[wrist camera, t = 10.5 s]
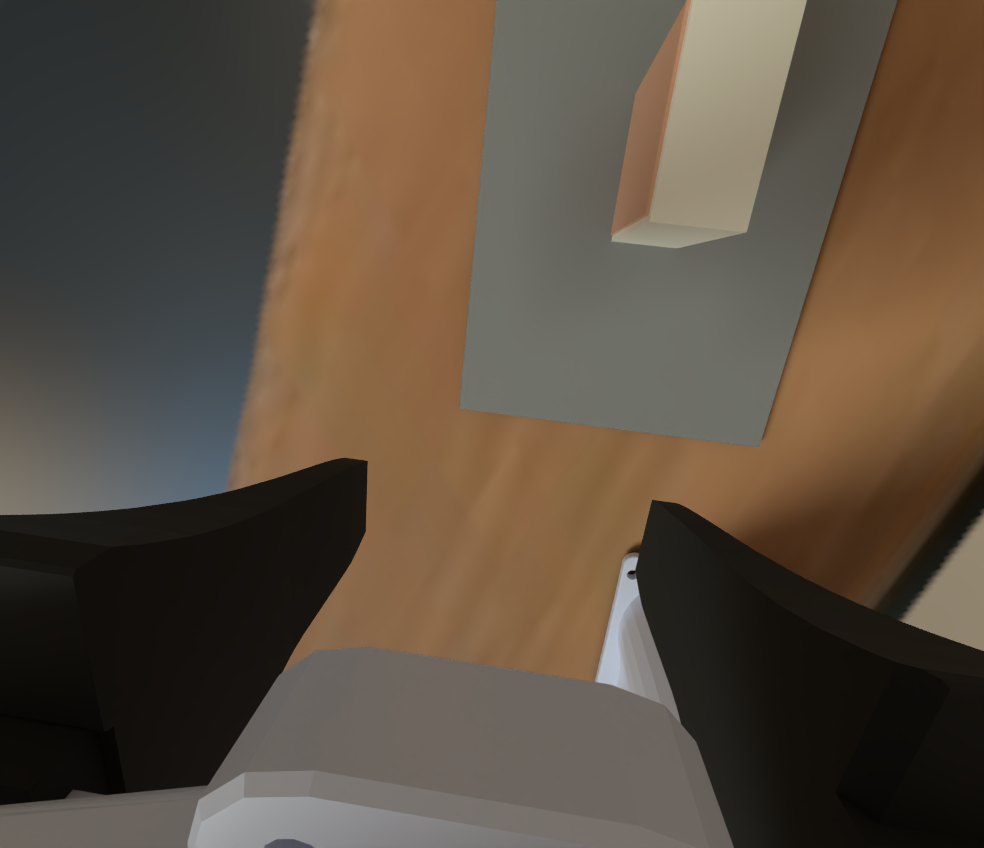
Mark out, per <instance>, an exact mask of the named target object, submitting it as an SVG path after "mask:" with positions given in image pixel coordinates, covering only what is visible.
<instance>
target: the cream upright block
mask: <svg viewBox="0 0 984 848" xmlns="http://www.w3.org/2000/svg"><path fill="white" fill-rule="evenodd" d="M806 2H807V0H686V2H685V4H684V6H683V8H682V10H681V11H680V13H679V15H678V17H677V19H676V20H675V22H674V24H673V26H672V28H671V30H670V31H669V33H668V35H667V37H666V39H665V41H664V42H663V44H662V46H661V48H660V50H659V52H658V53H657V55H656V57H655V59H654V61H653V63H652V64H651V66H650V68H649V70H648V72H647V73H646V75H645V77H644V79H643V81H642V83H641V84H640V86H639V88H638V90H637V92H636V94H635V99H634V104H633V110H632V116H631V121H630V127H629V133H628V138H627V144H626V150H625V156H624V161H623V167H622V173H621V178H620V184H619V190H618V196H617V201H616V207H615V213H614V218H613V224H612V230H611V235H612V241H613V242H622V243H632V244H641V245H650V246H659V247H668V248H681V247H685V246H690V245H694V244H698V243H703V242H707V241H711V240H716V239H720V238H724V237H729V236H733V235H737V234H742V233H746V232H747V229H748V225H749V221H750V218H751V214H752V210H753V206H754V202H755V198H756V195H757V191H758V187H759V183H760V179H761V175H762V171H763V168H764V164H765V160H766V156H767V152H768V148H769V144H770V141H771V137H772V133H773V129H774V125H775V121H776V118H777V114H778V110H779V106H780V102H781V98H782V94H783V91H784V87H785V83H786V79H787V75H788V71H789V68H790V64H791V60H792V56H793V52H794V48H795V44H796V41H797V37H798V33H799V29H800V25H801V21H802V17H803V14H804V10H805V6H806Z"/></svg>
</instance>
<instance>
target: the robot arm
mask: <svg viewBox="0 0 984 848" xmlns="http://www.w3.org/2000/svg"><path fill="white" fill-rule="evenodd" d="M367 464H368V461H364V460H357V459H349V458H340V459H335V460H331V461H328V462H324V463H321V464H318V465H315V466H312V467H309V468H306V469H303V470H300V471H297V472H294V473H291V474H288V475H285V476H282V477H278V478H275V479H272V480H268V481H265V482H261V483H258V484H255V485H251V486H248V487H245V488H241V489H237V490H233V491H229V492H225V493H221V494H216V495H211V496H207V497H202V498H197V499H192V500H186V501H180V502H173V503H166V504H159V505H152V506H146V507H139V508H130V509H119V510H109V511H99V512H98V511H97V512H82V513H67V514H40V515H39V514H38V515H0V848H984V651H981V650H978V649H975V648H973V647H970V646H967V645H964V644H961V643H958V642H955V641H952V640H950V639H947V638H944V637H941V636H938V635H935V634H933V633H930V632H927V631H924V630H922V629H919V628H916V627H914V626H911V625H909V624H906V623H903V622H901V621H898V620H896V619H893V618H891V617H888V616H886V615H884V614H881V613H879V612H876V611H874V610H872V609H869V608H867V607H864V606H862V605H860V604H857V603H855V602H853V601H851V600H848V599H846V598H844V597H842V596H839V595H837V594H835V593H833V592H831V591H829V590H827V589H825V588H823V587H821V586H819V585H817V584H815V583H813V582H811V581H809V580H807V579H805V578H803V577H801V576H799V575H797V574H795V573H793V572H791V571H790V570H788V569H786V568H784V567H782V566H781V565H779V564H777V563H775V562H774V561H772V560H770V559H769V558H767V557H765V556H763V555H762V554H760V553H758V552H757V551H755V550H753V549H752V548H750V547H748V546H747V545H745V544H744V543H742V542H740V541H739V540H737V539H736V538H734V537H733V536H731V535H729V534H728V533H726V532H725V531H723V530H722V529H720V528H719V527H717V526H715V525H714V524H712V523H711V522H709V521H708V520H706V519H705V518H703V517H701V516H700V515H698V514H697V513H695V512H693V511H692V510H690V509H688V508H686V507H684V506H682V505H680V504H677V503H671V502H663V501H656V500H652V503H651V507H650V511H649V515H648V519H647V523H646V528H645V532H644V536H643V540H642V544H641V548H640V552H639V553H629V554H627V555H626V556H625V557H624V559H623V562H622V566H621V570H620V575H619V579H618V583H617V588H616V592H615V596H614V601H613V605H612V609H611V614H610V618H609V622H608V627H607V631H606V635H605V640H604V644H603V648H602V653H601V657H600V661H599V666H598V670H597V674H596V679H595V682H592V681H585V680H579V679H572V678H566V677H560V676H553V675H547V674H541V673H534V672H528V671H521V670H515V669H509V668H502V667H496V666H490V665H483V664H477V663H470V662H464V661H458V660H451V659H445V658H438V657H432V656H426V655H419V654H413V653H407V652H400V651H394V650H387V649H381V648H375V647H360V648H343V649H327V650H316V651H314V652H313V653H311V654H310V655H308V656H307V657H305V658H304V659H302V660H301V661H299V662H298V663H296V664H295V665H293V666H292V667H290V668H289V669H287V670H286V671H284V672H283V670H284V668H285V666H286V664H287V662H288V660H289V658H290V656H291V654H292V653H293V651H294V649H295V647H296V646H297V644H298V643H299V641H300V639H301V638H302V636H303V634H304V633H305V631H306V630H307V628H308V627H309V625H310V624H311V622H312V621H313V619H314V618H315V616H316V615H317V613H318V612H319V610H320V609H321V607H322V606H323V604H324V603H325V602H326V600H327V599H328V597H329V596H330V594H331V593H332V591H333V590H334V588H335V587H336V585H337V584H338V582H339V581H340V579H341V577H342V576H343V574H344V573H345V571H346V570H347V568H348V567H349V565H350V564H351V562H352V560H353V558H354V556H355V554H356V551H357V549H358V547H359V545H360V543H361V541H362V538H363V536H364V534H365V532H366V499H367ZM631 570H635V573H634V574H631V575H630V574H627V573H628V572H629V571H631ZM282 672H283V673H282Z"/></svg>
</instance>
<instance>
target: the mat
mask: <svg viewBox="0 0 984 848" xmlns="http://www.w3.org/2000/svg"><path fill="white" fill-rule="evenodd" d="M897 1H898V0H807V2H806V6H805V10H804V14H803V17H802V21H801V25H800V29H799V33H798V37H797V41H796V44H795V48H794V52H793V56H792V60H791V64H790V68H789V71H788V75H787V79H786V83H785V87H784V91H783V94H782V98H781V102H780V106H779V110H778V114H777V118H776V121H775V125H774V129H773V133H772V137H771V141H770V144H769V148H768V152H767V156H766V160H765V164H764V168H763V171H762V175H761V179H760V183H759V187H758V191H757V195H756V198H755V202H754V206H753V210H752V214H751V218H750V221H749V225H748V229H747V232H746V233H742V234H737V235H733V236H729V237H724V238H720V239H716V240H711V241H707V242H703V243H698V244H694V245H690V246H685V247H681V248H668V247H659V246H650V245H641V244H632V243H622V242H613V241H612V235H611V230H612V224H613V218H614V213H615V207H616V201H617V196H618V190H619V184H620V178H621V173H622V167H623V161H624V156H625V150H626V144H627V138H628V133H629V127H630V121H631V116H632V110H633V104H634V99H635V94H636V92H637V90H638V88H639V86H640V84H641V83H642V81H643V79H644V77H645V75H646V73H647V72H648V70H649V68H650V66H651V64H652V63H653V61H654V59H655V57H656V55H657V53H658V52H659V50H660V48H661V46H662V44H663V42H664V41H665V39H666V37H667V35H668V33H669V31H670V30H671V28H672V26H673V24H674V22H675V20H676V19H677V17H678V15H679V13H680V11H681V10H682V8H683V6H684V4H685V2H686V0H497V2H496V13H495V24H494V35H493V46H492V57H491V68H490V79H489V90H488V101H487V112H486V123H485V134H484V144H483V155H482V166H481V177H480V188H479V199H478V210H477V221H476V232H475V243H474V254H473V265H472V275H471V286H470V297H469V308H468V319H467V330H466V341H465V352H464V363H463V374H462V385H461V396H460V407H459V409H467V410H474V411H482V412H490V413H497V414H505V415H513V416H520V417H528V418H536V419H543V420H551V421H559V422H566V423H574V424H582V425H590V426H597V427H605V428H613V429H620V430H628V431H636V432H643V433H651V434H659V435H666V436H674V437H682V438H690V439H697V440H705V441H713V442H720V443H728V444H736V445H743V446H751V447H759V446H760V443H761V439H762V436H763V433H764V430H765V427H766V423H767V420H768V417H769V414H770V410H771V407H772V404H773V401H774V398H775V394H776V391H777V388H778V385H779V381H780V378H781V375H782V372H783V369H784V365H785V362H786V359H787V356H788V352H789V349H790V346H791V343H792V339H793V336H794V333H795V330H796V327H797V323H798V320H799V317H800V314H801V310H802V307H803V304H804V301H805V298H806V294H807V291H808V288H809V285H810V281H811V278H812V275H813V272H814V269H815V265H816V262H817V259H818V256H819V252H820V249H821V246H822V243H823V240H824V236H825V233H826V230H827V227H828V223H829V220H830V217H831V214H832V210H833V207H834V204H835V201H836V198H837V194H838V191H839V188H840V185H841V181H842V178H843V175H844V172H845V169H846V165H847V162H848V159H849V156H850V152H851V149H852V146H853V143H854V140H855V136H856V133H857V130H858V127H859V123H860V120H861V117H862V114H863V111H864V107H865V104H866V101H867V98H868V94H869V91H870V88H871V85H872V81H873V78H874V75H875V72H876V69H877V65H878V62H879V59H880V56H881V52H882V49H883V46H884V43H885V40H886V36H887V33H888V30H889V27H890V23H891V20H892V17H893V14H894V11H895V7H896V4H897Z"/></svg>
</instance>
